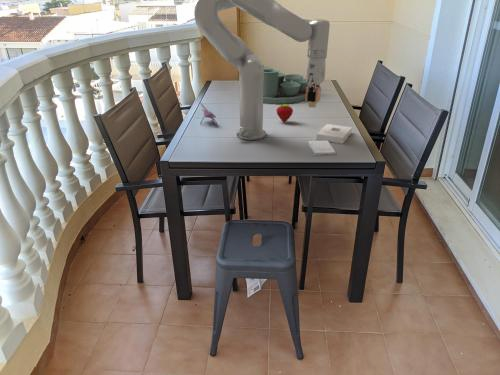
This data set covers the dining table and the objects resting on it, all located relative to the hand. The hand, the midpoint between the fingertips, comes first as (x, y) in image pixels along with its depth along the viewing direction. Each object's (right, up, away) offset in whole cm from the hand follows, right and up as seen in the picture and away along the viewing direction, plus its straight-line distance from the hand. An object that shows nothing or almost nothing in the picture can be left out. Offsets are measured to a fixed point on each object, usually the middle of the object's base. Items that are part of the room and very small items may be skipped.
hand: (313, 99), depth 166 cm
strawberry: (-10, -6, +21) cm, 24 cm away
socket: (+10, -15, +4) cm, 18 cm away
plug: (0, -3, +1) cm, 3 cm away
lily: (-45, -7, +20) cm, 50 cm away
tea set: (-11, +17, +65) cm, 68 cm away
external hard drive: (+2, -22, -8) cm, 23 cm away
